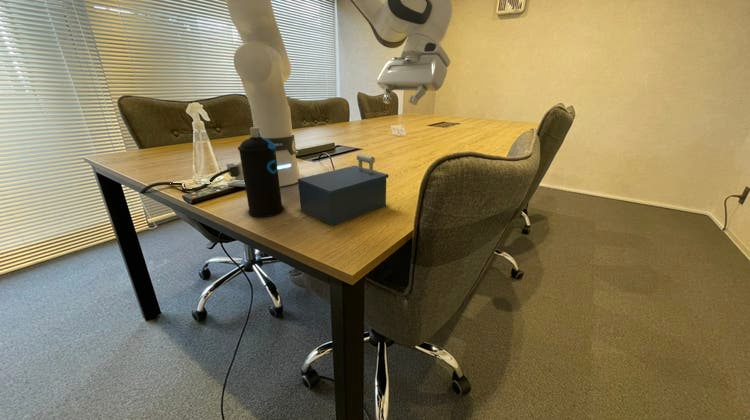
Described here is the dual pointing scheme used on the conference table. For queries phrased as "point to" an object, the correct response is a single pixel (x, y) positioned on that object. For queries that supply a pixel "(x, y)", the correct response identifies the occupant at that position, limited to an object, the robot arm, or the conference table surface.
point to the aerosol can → (260, 175)
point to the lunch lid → (345, 177)
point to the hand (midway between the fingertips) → (398, 103)
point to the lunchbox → (342, 202)
